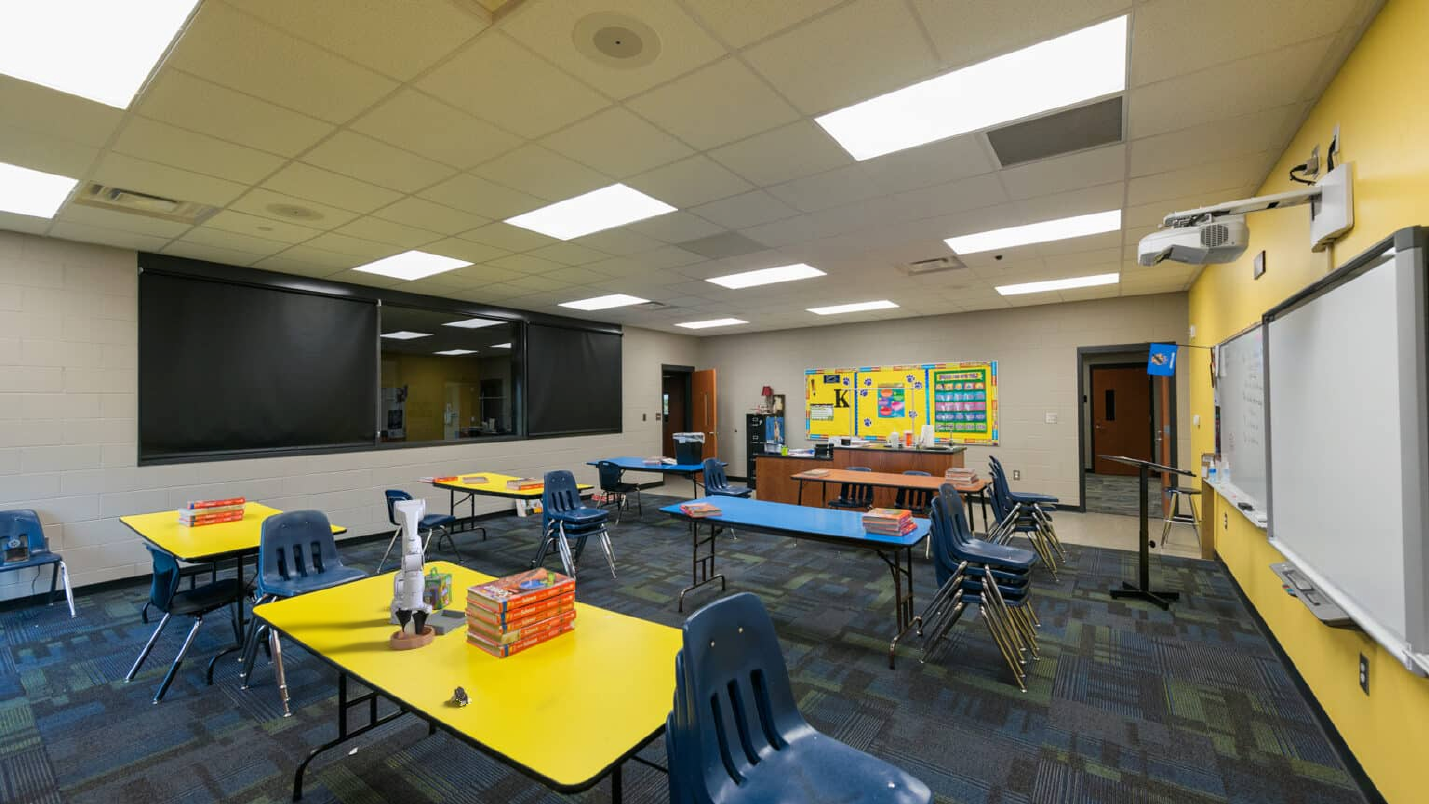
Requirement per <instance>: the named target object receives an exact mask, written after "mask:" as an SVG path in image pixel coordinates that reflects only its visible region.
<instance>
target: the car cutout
mask: <svg viewBox="0 0 1429 804" xmlns="http://www.w3.org/2000/svg"><path fill="white" fill-rule="evenodd" d="M453 693H454V695H453V696H451V697H450V699H449V702H450V703H452V702H451V701H453V700H454V699H458V700H460V701H462V702H460V704H459V707H460V706H461V705H463V704H465V703H466V704H467V705H469V704H468V702H470V701H472V698H469V696H468V694H467V693H466V691H465V688H464V687H462V686H459V685H457V688H455V689H454V692H453ZM453 702H454V701H453ZM472 702H473V701H472Z"/></svg>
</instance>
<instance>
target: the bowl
mask: <svg viewBox="0 0 1429 804" xmlns="http://www.w3.org/2000/svg"><path fill="white" fill-rule="evenodd" d="M434 639H435V634H434V629H433V628H432V627H430V626H424V628H423V632H422V633H420V634H418V635H416V636H414V637H409V636H407V635H406V634H405V633H404V632H403V631H402V628H401V629H399V630H397V631H394V632H393V633H392V634H391V635H390V637H389V640H390V641H389V642H390V643H389V644H390V647H391V649H392V650H393V649H394V650H397V651H409V650H415V649H419V648H422V647H425V646H427V645H430V644H431V643H433V641H434Z"/></svg>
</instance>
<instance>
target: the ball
mask: <svg viewBox="0 0 1429 804" xmlns="http://www.w3.org/2000/svg"><path fill="white" fill-rule="evenodd" d="M404 633H405V634H406V635H407V636H409V637H414V636H416V635H417V634H416V633H415V623H414V621H410V622H408V623H407V624H406V625H405V628H404Z"/></svg>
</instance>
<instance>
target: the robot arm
mask: <svg viewBox="0 0 1429 804" xmlns="http://www.w3.org/2000/svg"><path fill="white" fill-rule="evenodd" d="M425 500H426V499H424V498H421V499H420V498H419V499H409V500H407V499H406V500H395V501H394V503H393V516H394V518H393V519H394V523H395V524H400V526H401V528H402V540H401V541H402V544H401V545H402V548H401V549H402V556H401V569H400V570H399V571H398V572H396V574H395V575H394V576H393V586H392V587H393V598H392V600H391V603H390V620H388V624H393V625H400V627H401V629H402V631H403V632H404V628H405V625H406V624H407V623H408V622H410V621H414V623H415V633H416V634H417V635H418V634H420V633H422V632H423V628H424V624H425V622H426V619H427V617H428V615H430V614H431V613H433V609H432V606H431V605H428V604H426V603H424V602H423V592H424V590H425V581H424V576H425V574H424V571H425V554H424V550H423V548H422V547H423V546H422V545H423V544H422V537H421V536H420V535H418V525H419V522H422V521H423V520H424V518H425V515H426V501H425Z"/></svg>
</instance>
